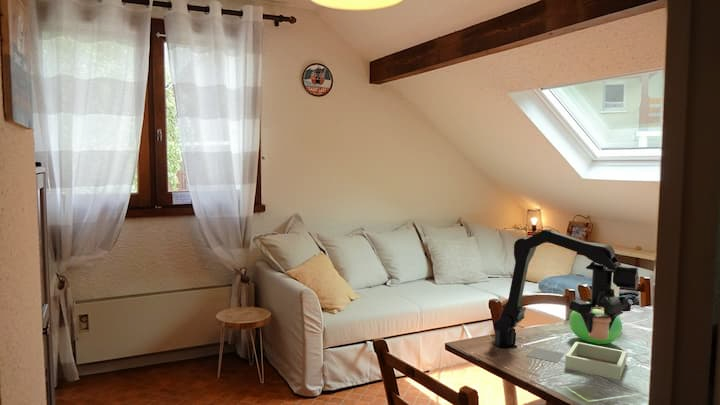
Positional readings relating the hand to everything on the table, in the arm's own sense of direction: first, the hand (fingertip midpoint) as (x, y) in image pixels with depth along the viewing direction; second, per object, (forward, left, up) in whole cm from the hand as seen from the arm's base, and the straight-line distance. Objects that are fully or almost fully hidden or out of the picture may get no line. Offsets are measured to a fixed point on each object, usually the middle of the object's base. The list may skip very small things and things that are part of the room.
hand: (598, 331), depth 178 cm
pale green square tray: (0, 0, -12) cm, 12 cm away
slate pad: (-10, +12, -12) cm, 20 cm away
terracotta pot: (0, 0, -2) cm, 2 cm away
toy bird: (+17, +20, -12) cm, 29 cm away
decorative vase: (+37, +37, -12) cm, 54 cm away
